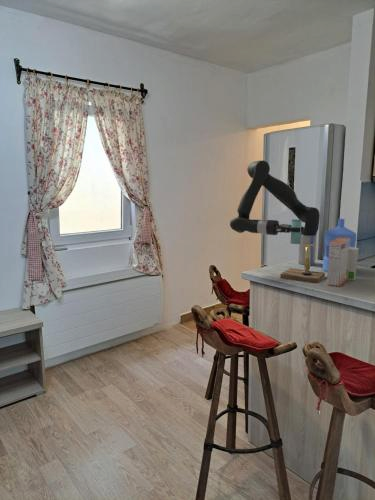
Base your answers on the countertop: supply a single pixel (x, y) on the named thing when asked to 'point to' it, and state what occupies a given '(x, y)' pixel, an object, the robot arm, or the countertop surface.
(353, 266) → the skincare box
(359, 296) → the countertop surface
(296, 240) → the teal cylinder
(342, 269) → the cracker box
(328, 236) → the water jug
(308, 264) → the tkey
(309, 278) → the brown wooden board
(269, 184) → the robot arm
